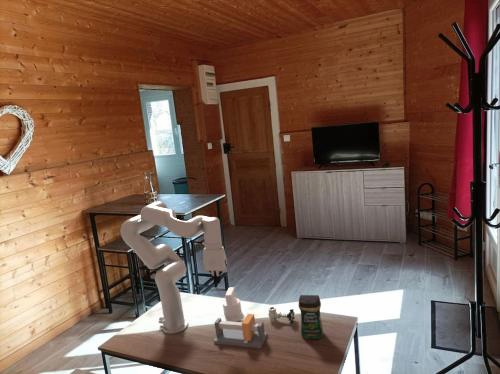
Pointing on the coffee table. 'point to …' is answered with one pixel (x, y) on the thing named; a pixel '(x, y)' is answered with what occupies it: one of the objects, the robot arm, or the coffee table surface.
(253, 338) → the slider rail fixture
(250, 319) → the orange rectangular prism
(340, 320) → the coffee table surface
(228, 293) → the cylinder with rectangular tab
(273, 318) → the valve
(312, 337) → the coffee jar
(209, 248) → the robot arm
